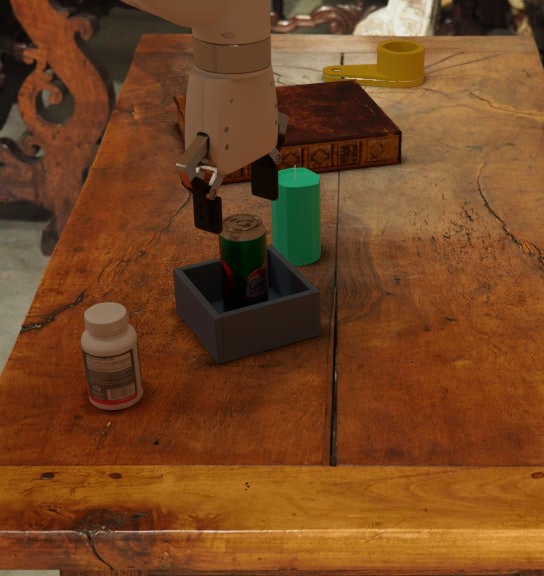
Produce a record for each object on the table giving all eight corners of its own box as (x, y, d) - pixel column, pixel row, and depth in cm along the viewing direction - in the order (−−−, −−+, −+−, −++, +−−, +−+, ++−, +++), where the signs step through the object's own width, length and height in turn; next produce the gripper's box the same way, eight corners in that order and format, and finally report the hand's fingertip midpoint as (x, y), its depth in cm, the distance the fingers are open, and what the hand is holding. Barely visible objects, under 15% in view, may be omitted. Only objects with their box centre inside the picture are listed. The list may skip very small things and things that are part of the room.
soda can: (254, 335, 116) (249, 236, 110) (215, 324, 118) (208, 226, 112) (278, 313, 120) (274, 217, 114) (239, 303, 122) (233, 207, 116)
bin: (217, 364, 112) (214, 319, 109) (176, 311, 121) (172, 268, 118) (320, 335, 117) (320, 290, 115) (273, 286, 126) (272, 244, 124)
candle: (293, 270, 130) (290, 180, 124) (263, 253, 134) (259, 164, 128) (331, 255, 133) (330, 166, 127) (300, 238, 137) (299, 151, 131)
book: (201, 186, 150) (199, 153, 148) (175, 125, 170) (172, 95, 167) (401, 163, 159) (402, 132, 156) (354, 108, 178) (354, 79, 176)
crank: (422, 72, 195) (423, 39, 192) (424, 87, 188) (426, 54, 185) (323, 71, 194) (323, 38, 191) (321, 86, 187) (321, 53, 184)
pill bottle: (101, 378, 110) (89, 295, 105) (151, 383, 109) (142, 300, 104) (80, 409, 105) (67, 324, 100) (133, 415, 104) (122, 329, 99)
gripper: (253, 27, 112) (257, 178, 120) (142, 68, 99) (155, 235, 107) (313, 39, 109) (313, 193, 117) (207, 83, 96) (215, 254, 104)
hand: (237, 213), depth 112 cm, fingers open, 9 cm apart
